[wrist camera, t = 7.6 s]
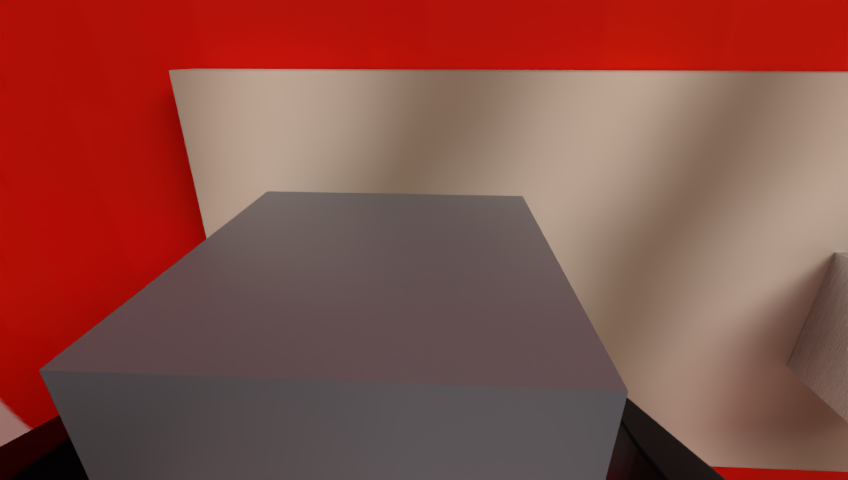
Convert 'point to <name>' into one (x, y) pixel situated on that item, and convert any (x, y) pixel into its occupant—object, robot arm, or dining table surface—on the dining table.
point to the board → (593, 209)
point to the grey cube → (826, 339)
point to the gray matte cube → (349, 352)
